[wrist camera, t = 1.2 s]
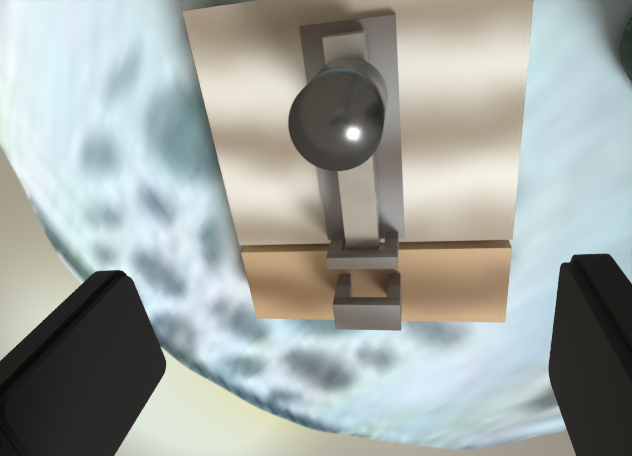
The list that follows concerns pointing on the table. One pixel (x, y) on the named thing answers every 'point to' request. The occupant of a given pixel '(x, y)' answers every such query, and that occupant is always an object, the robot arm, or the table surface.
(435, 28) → the lock board
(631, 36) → the coffee jar
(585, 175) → the table surface
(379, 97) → the dark metal knob
